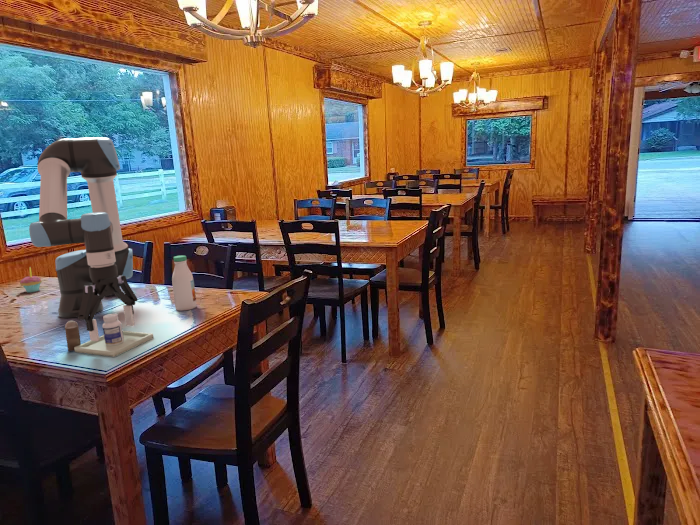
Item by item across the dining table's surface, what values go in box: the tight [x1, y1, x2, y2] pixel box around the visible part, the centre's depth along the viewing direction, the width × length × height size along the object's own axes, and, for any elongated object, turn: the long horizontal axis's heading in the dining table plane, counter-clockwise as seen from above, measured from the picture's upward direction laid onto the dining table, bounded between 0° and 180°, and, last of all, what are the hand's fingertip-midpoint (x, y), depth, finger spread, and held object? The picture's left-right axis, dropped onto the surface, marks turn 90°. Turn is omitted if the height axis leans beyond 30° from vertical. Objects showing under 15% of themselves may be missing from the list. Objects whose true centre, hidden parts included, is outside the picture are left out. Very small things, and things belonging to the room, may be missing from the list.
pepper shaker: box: [64, 320, 82, 352], centre depth 152 cm, size 4×4×9 cm
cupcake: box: [19, 267, 43, 293], centre depth 231 cm, size 9×8×12 cm
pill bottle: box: [101, 313, 124, 346], centre depth 153 cm, size 5×5×9 cm
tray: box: [74, 330, 154, 358], centre depth 154 cm, size 16×16×2 cm
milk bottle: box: [171, 255, 197, 311], centre depth 188 cm, size 8×8×20 cm
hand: (113, 332), depth 153 cm, fingers open, 13 cm apart
